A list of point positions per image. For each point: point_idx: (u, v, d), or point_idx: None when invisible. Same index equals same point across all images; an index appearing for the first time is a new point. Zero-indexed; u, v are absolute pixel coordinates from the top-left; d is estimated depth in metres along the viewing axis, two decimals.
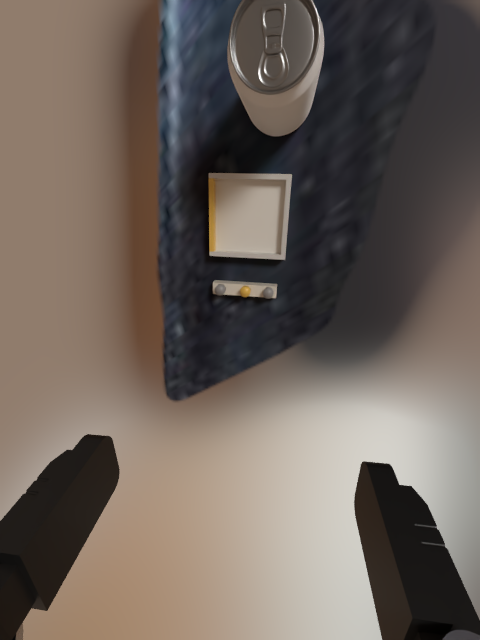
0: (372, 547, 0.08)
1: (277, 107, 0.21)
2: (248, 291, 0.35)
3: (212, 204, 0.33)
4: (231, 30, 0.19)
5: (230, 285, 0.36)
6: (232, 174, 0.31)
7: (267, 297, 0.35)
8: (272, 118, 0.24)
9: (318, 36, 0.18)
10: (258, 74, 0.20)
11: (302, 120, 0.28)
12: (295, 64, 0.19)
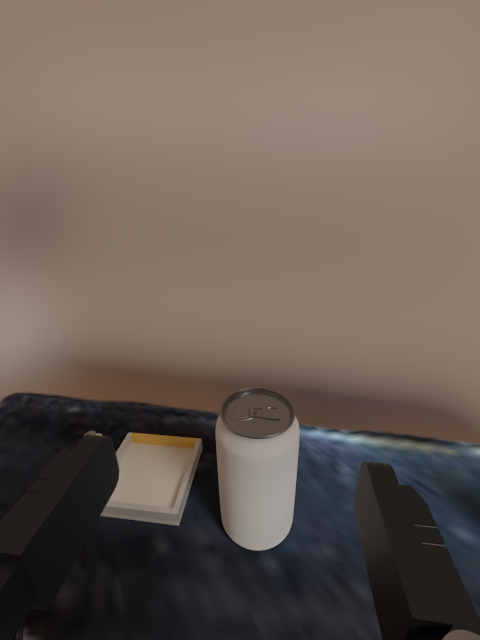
0: (372, 547, 0.08)
1: (216, 425, 0.23)
2: None
3: (173, 439, 0.34)
4: (266, 388, 0.25)
5: None
6: (194, 456, 0.32)
7: None
8: None
9: (255, 436, 0.20)
10: (237, 403, 0.24)
11: (227, 523, 0.25)
12: (239, 425, 0.22)
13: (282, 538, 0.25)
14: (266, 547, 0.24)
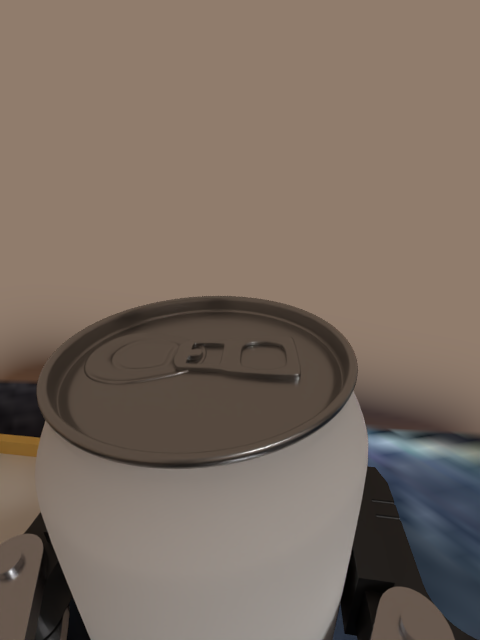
0: None
1: None
2: None
3: None
4: (247, 299, 0.08)
5: None
6: None
7: None
8: None
9: (155, 454, 0.03)
10: (144, 332, 0.07)
11: None
12: (112, 398, 0.05)
13: None
14: None
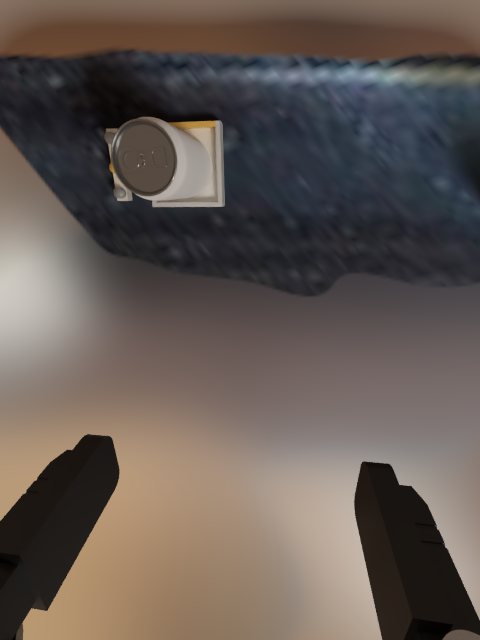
0: (372, 547, 0.08)
1: None
2: None
3: (192, 125, 0.33)
4: (145, 120, 0.24)
5: None
6: (219, 147, 0.33)
7: (114, 192, 0.36)
8: None
9: (148, 195, 0.26)
10: (124, 147, 0.25)
11: None
12: (133, 178, 0.26)
13: (204, 188, 0.35)
14: None
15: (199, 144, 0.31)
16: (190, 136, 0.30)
